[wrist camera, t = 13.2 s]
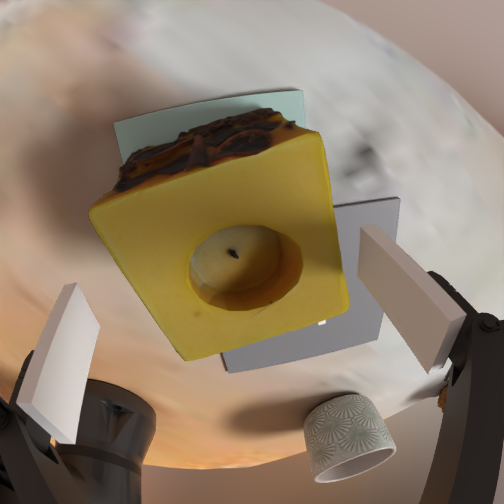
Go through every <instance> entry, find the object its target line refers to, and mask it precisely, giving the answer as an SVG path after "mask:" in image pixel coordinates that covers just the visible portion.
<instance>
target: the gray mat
mask: <svg viewBox="0 0 504 504" xmlns="http://www.w3.org/2000/svg"><path fill="white" fill-rule="evenodd" d="M333 208H334V214H335V219H336V225H337V232H338V240H339V247H340V251H341V259H342V268H343V272H344V275H345V279H346V283H347V287H348V292H349V301H350V308H349V309H348V310H347V311H346V312H345V313H344V314H341V315H338V316H335V317H332V318H330V319H327V320H324V321H321V322H318V323H315V324H312V325H309V326H307V327H304V328H301V329H298V330H294V331H290V332H286V333H283V334H280V335H277V336H274V337H271V338H268V339H265V340H262V341H259V342H255V343H252V344H249V345H245V346H242V347H239V348H236V349H233V350H229V351H226V352H222V353H223V357H224V360H225V363H226V366H227V369H228V373H229V374H230V373H236V372H242V371H247V370H253V369H258V368H264V367H269V366H274V365H279V364H283V363H288V362H293V361H297V360H302V359H306V358H310V357H314V356H318V355H323V354H327V353H331V352H334V351H338V350H342V349H346V348H349V347H353V346H357V345H360V344H364V343H367V342H370V341H374V340H377V339H378V335H379V331H380V327H381V322H382V318H383V313H384V311H383V310H382V308H381V307H380V305H379V304H378V303H377V301H376V300H375V299H374V297H373V296H372V295H371V293H370V292H369V291H368V289H367V288H366V287H365V285H364V284H363V283H362V281H361V280H360V279H359V278H358V276H357V272H358V260H359V245H360V227H362V226H367V225H372V224H375V225H376V226H377V227H379V228H380V229H381V230H382V231H383V232H384V233H385V234H386V235H387V236H389V237H390V238H391V239H392V240H393V241H394V242H395V243H396V235H397V227H398V218H399V208H400V198H391V199H384V200H377V201H370V202H363V203H356V204H349V205H342V206H336V207H333Z"/></svg>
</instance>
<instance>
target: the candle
mask: <svg viewBox="0 0 504 504" xmlns="http://www.w3.org/2000/svg"><path fill="white" fill-rule="evenodd" d="M295 123H296V121H295V120H293V121H289V120H287V119H285V118H284V117H283V116H282V114H281V112H279V111H274V110H273V109H272V108H260V109H257V110H253V111H250V112H247V113H243V114H239V115H236V116H228V117H226V118H225V119H219V120H216V121H213V122H211V123H209V124H206V125H201V126H198V127H195V128H192V129H189V131H188V132H180V134H179V135H178V139H177V140H175V141H174V142H170V143H164V144H160V145H158V146H146V147H145V148H144V149H138V150H137V151H136V152H132V153H131V155H130V156H129V157H128V159H127V161H125V164H124V165H123V166H122V167H120V173H119V176H118V181H117V184H116V185H115V187H114V188H113V190H112V191H111V192H109V193H106V194H104V195H103V197H102V198H101V199H100V200H98V201H97V202H96V203H94V204H93V205H92V206H91V207H90V209H89V214H88V217H89V219H90V221H91V223H92V224H93V226H94V228H95V230H96V232H97V233H98V235H99V237H100V238H101V240H102V241H103V243H104V244H105V246H106V247H107V249H108V251H109V252H110V254H111V256H112V257H113V259H114V260H115V262H116V264H117V265H118V267H119V268H120V270H121V271H122V273H123V274H124V276H125V277H126V279H127V280H128V281H129V283H130V284H131V286H132V287H133V289H134V290H135V292H136V293H137V295H138V296H139V298H140V299H141V301H142V302H143V303H144V305H145V306H146V308H147V309H148V311H149V312H150V314H151V315H152V317H153V318H154V320H155V321H156V322H157V324H158V325H159V327H160V328H161V330H162V331H163V332H164V334H165V335H166V337H167V338H168V340H169V341H170V343H171V344H172V346H173V347H174V349H175V350H176V352H177V353H178V354H179V355H180V356H181V357H182V358H183V360H184V361H191V360H196V359H201V358H204V357H208V356H211V355H214V354H218V353H222V352H226V351H229V350H233V349H236V348H239V347H242V346H245V345H249V344H252V343H255V342H259V341H262V340H265V339H268V338H271V337H274V336H277V335H280V334H283V333H286V332H290V331H294V330H298V329H301V328H304V327H307V326H309V325H312V324H315V323H318V322H321V321H324V320H327V319H330V318H332V317H335V316H338V315H341V314H344V313H345V312H346V311H347V310H348V309H349V308H350V301H349V292H348V287H347V283H346V279H345V275H344V272H343V268H342V259H341V251H340V247H339V240H338V232H337V225H336V219H335V214H334V208H333V203H332V193H331V185H330V177H329V171H328V165H327V159H326V153H325V148H324V145H323V141H322V137H321V136H320V134H319V132H316V131H312V130H309V129H305V128H302V127H299V126H297V125H296V124H295Z"/></svg>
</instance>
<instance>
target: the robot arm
mask: <svg viewBox="0 0 504 504" xmlns="http://www.w3.org/2000/svg"><path fill="white" fill-rule="evenodd" d="M357 276H358V278H359V279H360V280H361V281H362V283H363V284H364V285H365V287H366V288H367V289H368V291H369V292H370V293H371V295H372V296H373V297H374V299H375V300H376V301H377V303H378V304H379V305H380V307H381V308H382V310H383V311H384V312H385V314H386V315H387V316H388V318H389V319H390V321H391V322H392V323H393V325H394V326H395V328H396V329H397V330H398V332H399V333H400V335H401V336H402V337H403V339H404V340H405V342H406V343H407V345H408V346H409V347H410V349H411V350H412V352H413V353H414V355H415V356H416V358H417V359H418V361H419V362H420V364H421V365H422V367H423V368H424V370H425V371H426V373H427V374H430V373H432V372H435V371H437V370H439V369H441V368H443V367H444V365H445V363H446V360H447V358H448V357H449V359H450V360H451V361H452V365H451V367H450V369H449V371H448V373H447V375H446V376H445V379H444V381H447V379H448V377H449V382H448V389H447V396H446V402H445V408H444V414H443V419H442V424H441V429H440V433H439V438H438V442H437V446H436V450H435V454H434V458H433V462H432V465H431V469H430V472H429V476H428V479H427V482H426V485H425V488H424V491H423V494H422V497H421V500H420V503H419V504H493V500H494V496H495V491H496V486H497V481H498V476H499V470H500V463H501V456H502V448H503V439H504V320H500V321H499V319H498V318H496V317H495V316H494V315H492V314H489V313H478V312H477V311H476V310H475V309H474V308H473V307H472V306H471V305H470V304H469V303H468V302H467V301H466V300H465V299H464V298H463V297H462V296H461V294H460V293H459V292H456V289H455V288H454V287H453V286H452V285H451V286H450V283H449V282H448V281H447V280H445V279H444V278H443V277H442V276H441V275H439V274H437V273H435V272H433V271H429V272H426V271H425V270H424V269H423V268H422V267H420V266H419V265H418V264H417V263H416V262H415V261H414V260H413V259H412V258H411V257H410V256H409V255H408V254H407V253H406V252H405V251H404V250H403V249H402V248H401V247H399V246H398V245H397V244H396V243H395V242H394V241H393V240H392V239H391V238H390V237H389V236H387V235H386V234H385V233H384V232H383V231H382V230H381V229H380V228H379V227H377V226H376V225H375V224H372V225H367V226H362V227H360V245H359V260H358V272H357ZM99 329H100V325H99V324H98V322H97V320H96V318H95V316H94V314H93V313H92V311H91V309H90V307H89V305H88V303H87V301H86V299H85V297H84V295H83V293H82V291H81V289H80V287H79V285H78V283H73V284H68V285H64V287H63V289H62V291H61V293H60V295H59V297H58V299H57V301H56V303H55V305H54V307H53V310H52V312H51V314H50V316H49V318H48V320H47V323H46V325H45V327H44V329H43V332H42V334H41V336H40V339H39V341H38V343H37V346H36V348H35V350H32V351H31V352H30V354H29V355H28V356H27V358H26V359H25V361H24V363H23V366H22V368H21V371H20V374H19V376H18V378H19V379H17V382H16V384H15V387H14V390H13V393H12V396H11V399H10V402H9V405H8V404H7V403H6V402H5V401H4V400H3V399H2V398H1V397H0V504H141V468H142V463H143V460H144V458H145V456H146V453H147V451H148V448H149V446H150V444H151V441H152V439H153V437H154V434H155V431H156V414H155V412H154V410H153V408H152V407H151V406H150V405H149V404H148V403H147V402H146V401H144V400H143V399H141V398H140V397H138V396H137V395H135V394H133V393H131V392H129V391H127V390H125V389H122V388H120V387H117V386H114V385H111V384H107V383H103V382H99V381H93V380H87V377H88V373H89V368H90V364H91V360H92V356H93V352H94V348H95V344H96V340H97V337H98V333H99ZM51 436H52V437H53V438H54V439H55V447H54V446H53V445H52V444H51V443H50V439H51Z"/></svg>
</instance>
